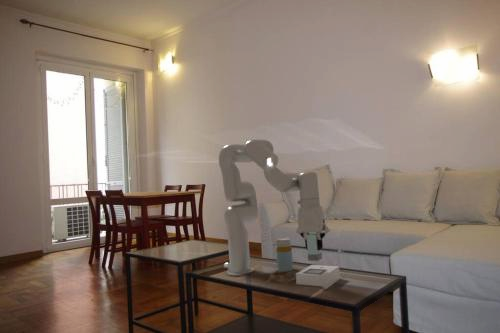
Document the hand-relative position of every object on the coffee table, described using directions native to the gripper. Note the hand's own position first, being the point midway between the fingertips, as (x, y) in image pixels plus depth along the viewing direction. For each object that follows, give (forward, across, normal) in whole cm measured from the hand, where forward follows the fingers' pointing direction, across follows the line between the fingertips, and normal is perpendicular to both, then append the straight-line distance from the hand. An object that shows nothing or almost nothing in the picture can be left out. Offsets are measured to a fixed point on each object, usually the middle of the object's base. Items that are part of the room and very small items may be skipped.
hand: (314, 249), depth 154 cm
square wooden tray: (+14, -16, -1) cm, 21 cm away
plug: (+4, 0, 0) cm, 4 cm away
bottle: (+14, -22, +15) cm, 30 cm away
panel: (+14, -1, +3) cm, 14 cm away
